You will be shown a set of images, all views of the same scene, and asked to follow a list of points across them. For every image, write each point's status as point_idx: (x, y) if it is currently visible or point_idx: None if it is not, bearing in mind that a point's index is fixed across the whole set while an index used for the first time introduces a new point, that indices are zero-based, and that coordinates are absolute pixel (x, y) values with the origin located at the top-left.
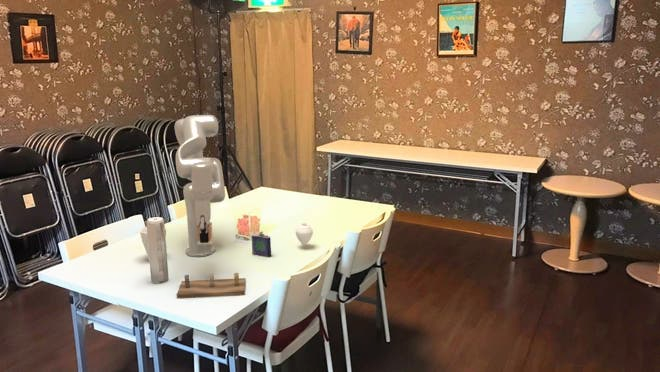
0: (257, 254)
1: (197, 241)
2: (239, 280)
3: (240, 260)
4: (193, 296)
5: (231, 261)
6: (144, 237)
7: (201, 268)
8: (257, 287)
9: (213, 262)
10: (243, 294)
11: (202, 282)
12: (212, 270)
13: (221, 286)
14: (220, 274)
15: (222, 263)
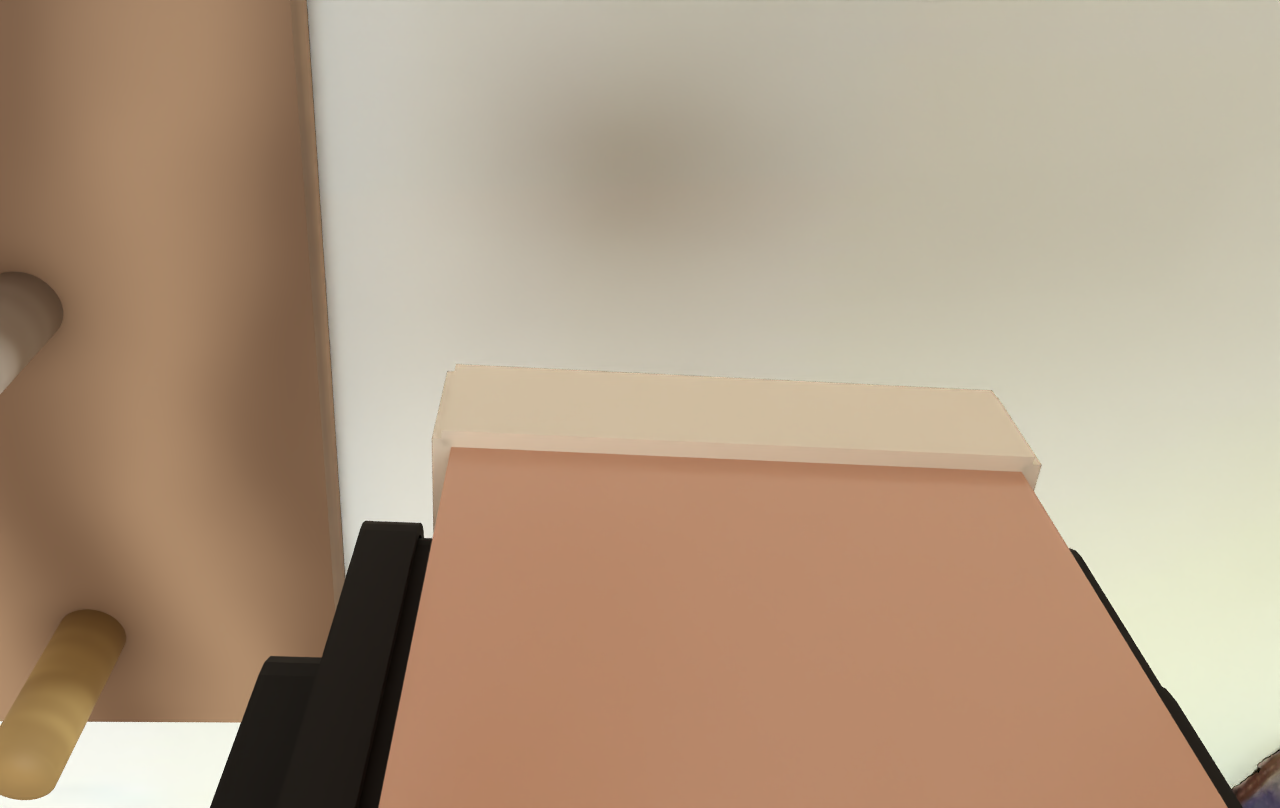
0: (1247, 797)
1: (442, 428)
2: (258, 659)
3: (1156, 611)
4: None
5: (1173, 503)
6: None
7: (1057, 44)
8: (161, 796)
9: (1258, 244)
10: None
11: (178, 130)
12: (894, 243)
13: (15, 442)
14: (685, 371)
15: (1147, 384)
